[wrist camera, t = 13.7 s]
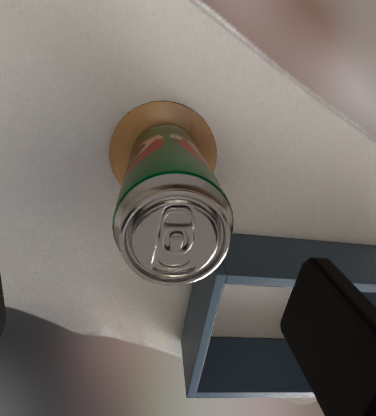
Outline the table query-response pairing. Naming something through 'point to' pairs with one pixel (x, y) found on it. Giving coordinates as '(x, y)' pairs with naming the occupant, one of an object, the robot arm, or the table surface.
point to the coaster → (158, 115)
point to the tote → (255, 347)
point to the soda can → (171, 210)
